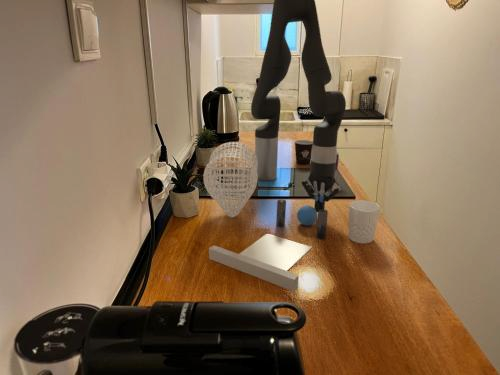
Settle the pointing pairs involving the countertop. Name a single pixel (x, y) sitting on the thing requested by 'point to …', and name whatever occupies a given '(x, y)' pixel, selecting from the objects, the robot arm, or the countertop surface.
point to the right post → (321, 224)
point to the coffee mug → (303, 151)
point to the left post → (281, 213)
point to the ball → (307, 215)
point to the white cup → (362, 221)
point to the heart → (212, 178)
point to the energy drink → (336, 167)
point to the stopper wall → (254, 267)
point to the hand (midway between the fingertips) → (319, 211)
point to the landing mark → (276, 251)
